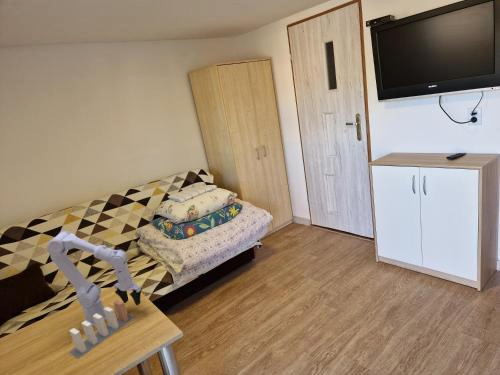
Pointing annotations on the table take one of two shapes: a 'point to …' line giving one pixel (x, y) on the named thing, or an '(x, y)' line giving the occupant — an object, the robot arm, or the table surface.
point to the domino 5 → (121, 310)
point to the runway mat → (100, 337)
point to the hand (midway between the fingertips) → (132, 303)
